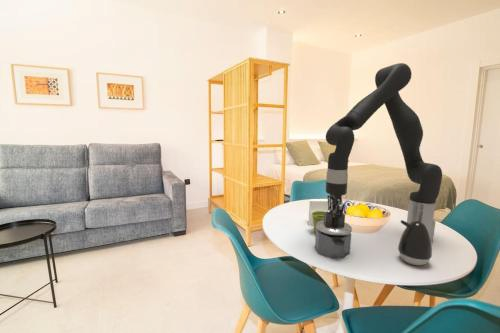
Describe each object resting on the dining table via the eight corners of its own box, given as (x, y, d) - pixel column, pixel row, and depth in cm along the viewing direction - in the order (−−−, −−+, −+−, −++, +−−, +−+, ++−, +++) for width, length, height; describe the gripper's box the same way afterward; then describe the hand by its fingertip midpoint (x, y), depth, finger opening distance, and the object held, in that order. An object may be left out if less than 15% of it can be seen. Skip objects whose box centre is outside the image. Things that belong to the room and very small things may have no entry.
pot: (340, 241, 110) (341, 223, 109) (355, 262, 93) (357, 241, 92) (311, 240, 110) (312, 222, 109) (321, 261, 94) (323, 240, 92)
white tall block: (324, 220, 134) (326, 197, 132) (329, 227, 125) (331, 203, 123) (306, 220, 134) (308, 197, 132) (310, 227, 125) (311, 202, 123)
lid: (345, 222, 107) (346, 208, 106) (357, 235, 94) (358, 219, 93) (312, 221, 107) (313, 207, 106) (320, 235, 94) (321, 219, 93)
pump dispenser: (399, 251, 102) (403, 214, 99) (431, 261, 95) (437, 220, 93) (393, 262, 94) (398, 221, 91) (428, 272, 87) (434, 229, 85)
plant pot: (333, 238, 113) (334, 218, 112) (310, 236, 115) (311, 217, 114) (331, 229, 122) (332, 211, 121) (310, 227, 124) (311, 210, 123)
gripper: (353, 185, 91) (350, 232, 93) (340, 177, 104) (338, 218, 107) (331, 184, 91) (329, 232, 93) (321, 176, 105) (319, 218, 107)
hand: (333, 224), depth 100 cm, fingers closed on lid, 3 cm apart
